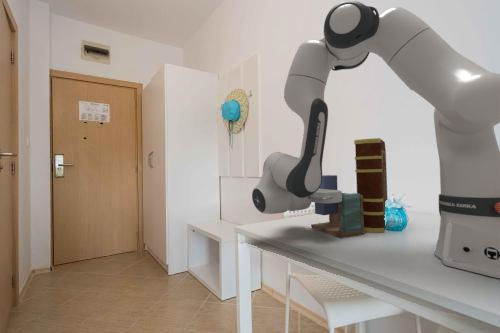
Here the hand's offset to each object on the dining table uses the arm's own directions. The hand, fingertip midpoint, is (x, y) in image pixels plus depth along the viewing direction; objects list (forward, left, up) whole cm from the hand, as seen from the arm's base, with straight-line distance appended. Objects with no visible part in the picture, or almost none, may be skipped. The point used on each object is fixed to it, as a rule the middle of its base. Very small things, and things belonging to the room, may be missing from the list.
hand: (327, 192), depth 90 cm
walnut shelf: (-4, 0, -12) cm, 13 cm away
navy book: (0, +1, -7) cm, 7 cm away
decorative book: (-4, -16, -13) cm, 21 cm away
